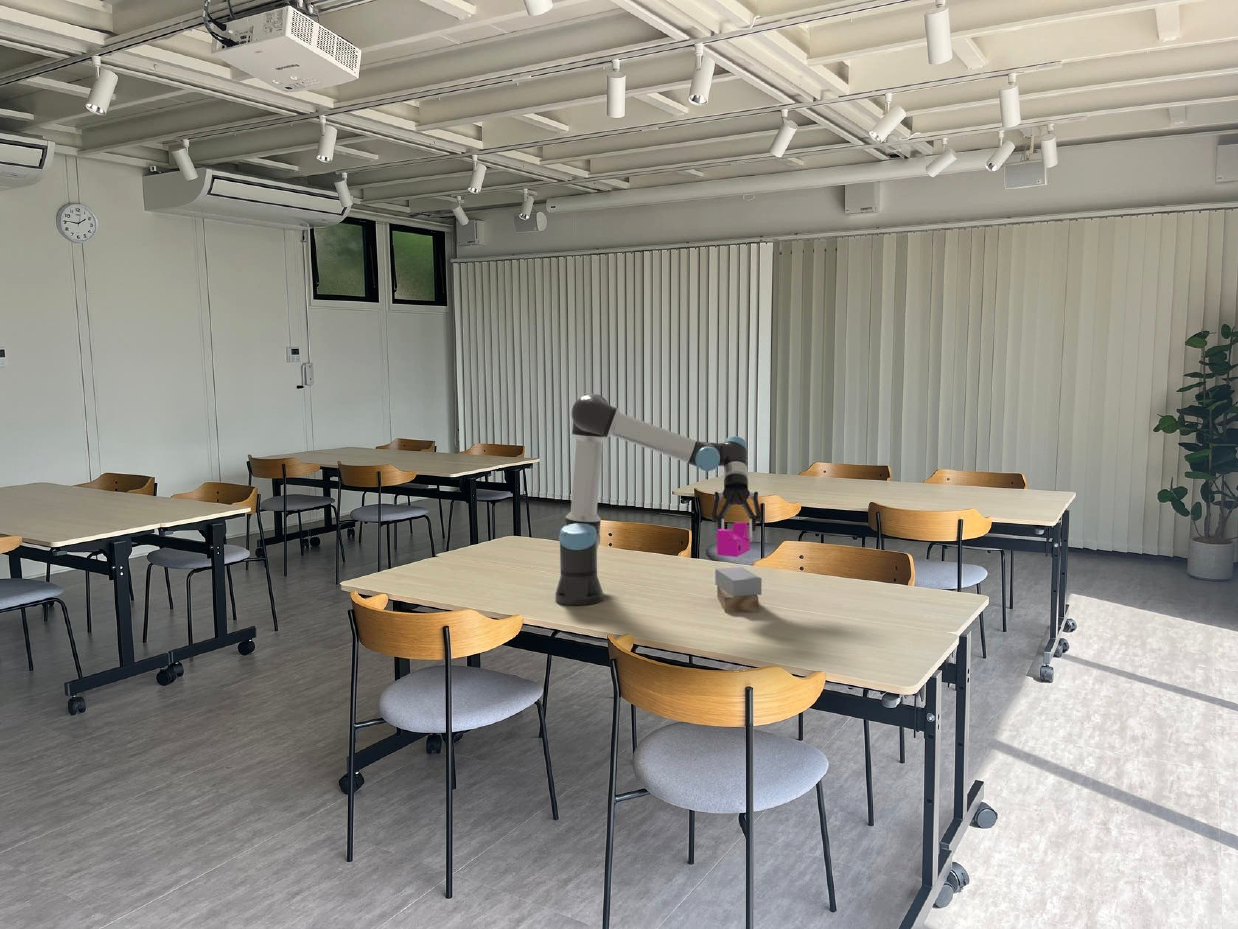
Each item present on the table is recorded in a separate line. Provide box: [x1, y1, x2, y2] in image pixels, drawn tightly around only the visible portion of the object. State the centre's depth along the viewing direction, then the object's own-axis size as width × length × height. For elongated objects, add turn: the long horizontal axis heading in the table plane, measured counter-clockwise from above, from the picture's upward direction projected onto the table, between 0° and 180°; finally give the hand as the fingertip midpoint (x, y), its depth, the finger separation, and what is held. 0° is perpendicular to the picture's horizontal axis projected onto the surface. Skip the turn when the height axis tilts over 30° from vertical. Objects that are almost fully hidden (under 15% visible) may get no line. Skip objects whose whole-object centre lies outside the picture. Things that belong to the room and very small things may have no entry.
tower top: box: [714, 566, 763, 597], centre depth 282 cm, size 9×16×5 cm, turn 13°
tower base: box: [716, 585, 759, 613], centre depth 282 cm, size 10×18×5 cm, turn 1°
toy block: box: [716, 521, 751, 558], centre depth 276 cm, size 15×6×8 cm, turn 150°
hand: (736, 539), depth 277 cm, fingers closed on toy block, 8 cm apart
